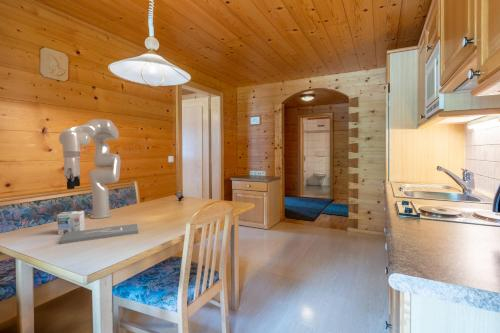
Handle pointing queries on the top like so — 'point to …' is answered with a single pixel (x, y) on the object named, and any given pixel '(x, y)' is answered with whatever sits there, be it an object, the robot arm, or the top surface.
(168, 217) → the top surface
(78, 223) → the light bulb box
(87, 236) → the slate board
